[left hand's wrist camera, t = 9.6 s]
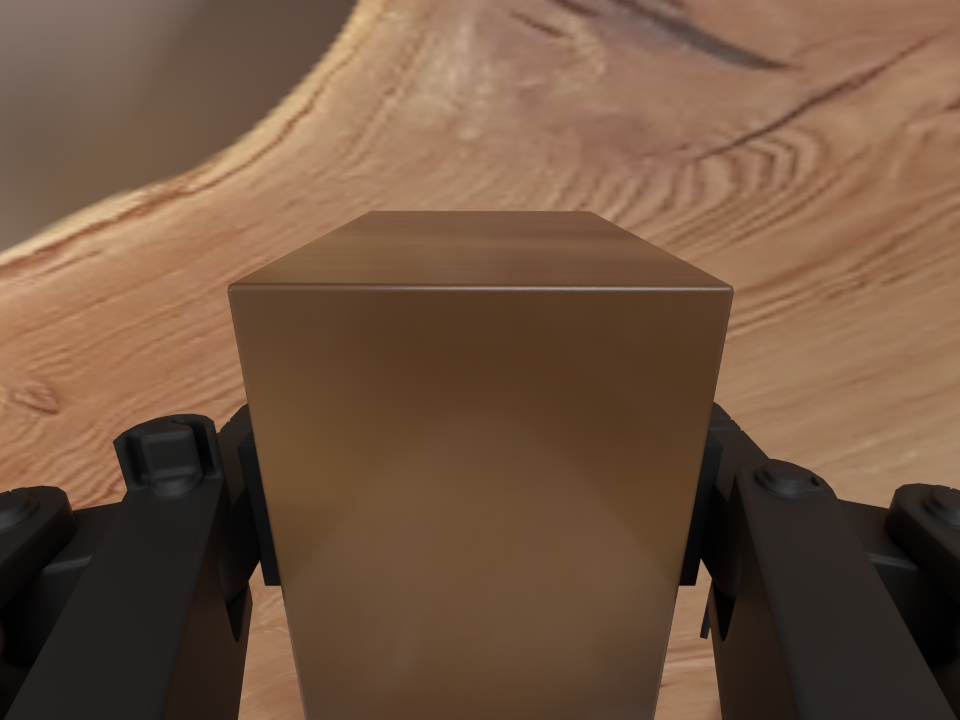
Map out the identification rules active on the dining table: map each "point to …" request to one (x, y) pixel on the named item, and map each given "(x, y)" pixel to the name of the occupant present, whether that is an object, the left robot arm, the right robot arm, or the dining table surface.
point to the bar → (480, 459)
